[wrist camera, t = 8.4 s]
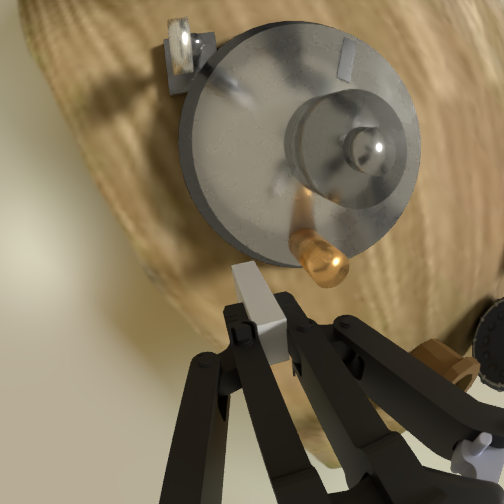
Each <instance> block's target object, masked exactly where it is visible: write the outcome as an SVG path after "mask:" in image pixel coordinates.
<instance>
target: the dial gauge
mask: <svg viewBox="0 0 504 504" xmlns="http://www.w3.org/2000/svg"><path fill="white" fill-rule="evenodd" d="M167 22H168V35H169V39H164V50H165V59H166V67H167V75H168V83H169V91H170V96H171V97H172V96H177V95H182V94H187V93H188V91H189V88H190V86H191V85H192V83H193V81H194V79H195V77H196V75H197V74H198V72H199V71H200V69H201V68H202V67H203V66H204V64H205V63H206V62H207V60H208V59H209V58H210V57H211V56H212V55H213V54H214V53H215V52H216V51H217V48H216V41H215V34H214V32H208V33H200V34H197V33H191V34H190V27H189V21H188V16H187V17H180V18H174V19H169V20H167Z"/></svg>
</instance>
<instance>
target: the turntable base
mask: <svg viewBox="0 0 504 504" xmlns="http://www.w3.org/2000/svg"><path fill="white" fill-rule="evenodd" d="M289 24H315V25H322V24H318V23H312V22H304V21H282V22H275V23H269V24H265V25H262V26H259V27H256V28H252V29H250V30H248V31H246V32H244V33H242V34H240V35H238V36H236V37H234V38H233V39H231V40H230V41H229V42H227V43H226V44H224V45H223V46H222V47H220V48H219V49H218V50H217V51H216V52H215V53H214V54H213V55H212V56H211V57H210V58H209V59H208V60H207V62H206V63H205V64H204V66H203V67H202V68H201V69H200V71H199V72H198V74H197V75H196V77H195V79H194V81H193V83H192V85H191V86H190V88H189V91H188V93H187V96H186V99H185V102H184V105H183V108H182V113H181V118H180V123H179V139H178V147H179V156H180V164H181V168H182V172H183V176H184V180H185V183H186V186H187V188H188V191H189V193H190V195H191V198H192V200H193V202H194V203H195V205H196V207H197V208H198V210H199V212H200V214H201V215H202V216H203V218H204V219H205V220H206V221H207V223H208V224H209V225H210V226H211V228H212V229H213V230H214V231H215V232H216V233H217V234H218V235H219V236H220V237H221V238H223V239H224V240H225V241H226V242H227V243H229V244H230V245H231V246H233V247H234V248H236V249H237V250H238V251H240V252H242V253H244V254H246V255H248V256H250V257H252V258H254V259H257V260H259V261H262V262H265V263H268V264H272V265H277V266H281V267H291V268H303V267H302V266H295V265H290V264H284V263H281V262H278V261H274V260H271V259H268V258H266V257H264V256H262V255H260V254H258V253H256V252H254V251H253V250H251V249H250V248H248V247H247V246H245V245H244V244H242V243H241V242H240V241H239V240H237V239H236V238H235V237H234V236H233V235H232V234H231V233H230V232H229V231H228V230H227V229H226V228H225V227H224V226H223V224H222V223H221V222H220V221H219V220H218V218H217V217H216V215H215V214H214V212H213V211H212V209H211V207H210V206H209V204H208V202H207V200H206V198H205V196H204V194H203V191H202V189H201V187H200V184H199V180H198V177H197V174H196V170H195V165H194V159H193V152H192V129H193V122H194V116H195V111H196V108H197V104H198V101H199V98H200V95H201V93H202V90H203V88H204V86H205V84H206V82H207V80H208V78H209V77H210V75H211V74H212V72H213V71H214V69H215V68H216V67H217V65H218V64H219V63H220V62H221V61H222V59H223V58H224V57H225V56H226V55H227V54H228V53H229V52H230V51H231V50H233V49H234V48H235V47H236V46H238V45H239V44H240V43H242V42H243V41H245V40H246V39H248V38H250V37H252V36H254V35H256V34H258V33H260V32H262V31H265V30H268V29H271V28H274V27H278V26H284V25H289ZM323 26H325V25H323ZM327 27H329V26H327ZM331 28H332V27H331Z"/></svg>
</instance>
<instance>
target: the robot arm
mask: <svg viewBox="0 0 504 504" xmlns="http://www.w3.org/2000/svg"><path fill="white" fill-rule="evenodd" d="M231 267H232V273H233V278H234V284H235V289H236V294H237V299H238V303H237V304H232V305H228V306H225V308H224V311H223V314H224V318H225V323H226V327H227V331H228V335H229V339H230V344H229V346H228V347H227V349H226V350H224V351H223V352H221V353H219V354H215V353H213V352H202V353H200V354H197V355H196V356H195V357H194V358H193V359H192V361H191V363H190V367H189V371H188V375H187V379H186V383H185V388H184V392H183V396H182V400H181V405H180V408H179V413H178V417H177V421H176V426H175V430H174V435H173V439H172V444H171V448H170V453H169V457H168V462H167V466H166V472H165V476H164V481H163V486H162V491H161V496H160V501H159V504H221V501H222V488H223V477H224V465H225V453H226V441H227V430H228V418H229V408H230V394H231V393H233V392H235V391H237V390H239V389H241V388H242V389H243V393H244V396H245V400H246V403H247V407H248V410H249V414H250V417H251V421H252V424H253V427H254V431H255V434H256V437H257V441H258V444H259V447H260V450H261V453H262V457H263V460H264V463H265V466H266V470H267V472H268V476H269V479H270V482H271V485H272V488H273V491H274V494H275V497H276V500H277V503H278V504H504V490H503V488H502V487H501V486H500V485H498V481H499V478H500V475H501V471H502V468H503V464H504V408H500V407H496V406H493V405H488V404H485V403H482V402H479V401H477V400H476V399H474V398H473V397H472V396H470V395H469V394H467V393H466V392H464V391H463V390H461V389H460V388H459V387H457V386H456V385H454V384H453V383H451V382H450V381H448V380H447V379H446V378H444V377H443V376H441V375H440V374H438V373H437V372H435V371H434V370H433V369H431V368H430V367H428V366H427V365H425V364H424V363H422V362H421V361H419V360H418V359H417V358H415V357H414V356H412V355H411V354H409V353H408V352H406V351H405V350H403V349H402V348H401V347H399V346H398V345H396V344H395V343H393V342H392V341H390V340H389V339H387V338H386V337H384V336H383V335H382V334H380V333H379V332H377V331H376V330H374V329H373V328H371V327H370V326H368V325H367V324H365V323H364V322H363V321H361V320H360V319H358V318H357V317H355V316H352V315H342V316H339V317H337V318H336V319H335V320H334V322H333V324H329V325H319V324H317V323H316V322H315V321H314V320H312V319H309V318H307V316H306V315H305V313H304V312H303V310H302V309H301V307H300V306H299V305H298V303H297V301H296V300H295V298H294V297H293V295H291V294H290V293H288V292H286V291H285V292H280V293H276V294H272V292H271V290H270V288H269V287H268V285H267V283H266V281H265V280H264V278H263V276H262V274H261V272H260V271H259V269H258V267H257V265H256V263H255V262H254V261H249V262H244V263H240V264H235V265H231ZM289 354H290V356H291V358H292V368H293V377H294V376H295V372H296V374H297V377H298V379H299V381H300V383H301V385H302V387H303V389H304V391H305V393H306V395H307V397H308V399H309V401H310V403H311V405H312V407H313V410H314V412H315V414H316V416H317V418H318V420H319V422H320V424H321V426H322V428H323V430H324V432H325V434H326V436H327V438H328V440H329V442H330V444H331V446H332V448H333V450H334V452H335V454H336V456H337V458H338V460H339V462H340V464H341V466H342V468H343V470H344V473H345V477H346V482H347V485H348V488H349V490H347V491H342V492H336V493H330V494H327V492H326V489H325V487H324V485H323V483H322V480H321V478H320V476H319V474H318V472H317V470H316V469H315V467H313V466H312V465H311V463H310V461H309V459H308V456H307V454H306V452H305V449H304V447H303V445H302V442H301V440H300V438H299V435H298V433H297V431H296V428H295V426H294V423H293V421H292V419H291V416H290V414H289V412H288V409H287V407H286V404H285V402H284V399H283V397H282V395H281V392H280V390H279V387H278V385H277V382H276V380H275V377H274V375H273V372H272V370H271V367H270V365H273V364H276V363H280V362H283V361H287V360H289ZM365 394H366V395H367V396H368V397H369V398H370V399H371V400H372V401H374V402H375V403H376V404H377V405H378V406H379V407H380V408H382V409H383V410H384V411H385V412H386V413H387V414H389V415H390V416H391V417H392V418H393V419H394V420H396V421H397V422H398V423H399V424H400V425H401V426H403V427H404V428H405V429H406V430H407V431H409V432H410V433H411V434H412V435H413V436H415V437H416V438H417V439H418V440H419V441H420V442H422V443H423V444H424V445H425V446H426V447H428V448H429V449H430V450H432V451H433V452H435V453H436V454H437V455H439V456H441V457H443V458H445V459H447V460H450V461H451V471H452V472H453V473H459V474H461V475H462V476H460V475H456V474H452V473H447V472H443V471H440V470H436V469H432V468H428V467H425V466H422V465H421V463H420V462H419V460H418V459H417V457H416V456H415V454H414V453H413V451H412V450H411V448H410V447H409V445H408V444H407V443H406V441H405V439H404V438H403V437H402V436H401V434H400V433H398V432H396V431H390V430H389V429H388V428H387V426H386V425H385V423H384V422H383V420H382V419H381V417H380V416H379V414H378V413H377V411H376V410H375V408H374V407H373V405H372V404H371V402H370V401H369V399H368V398H367V396H366V395H365Z"/></svg>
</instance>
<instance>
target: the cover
mask: <svg viewBox="0 0 504 504" xmlns="http://www.w3.org/2000/svg"><path fill="white" fill-rule="evenodd" d="M284 151H285V156H286V160H287V163H288V166H289V168H290V170H291V172H292V173H293V175H294V177H295V178H296V179H297V180H298V182H299V183H301V184H302V185H303V186H304V187H305V188H307V189H308V190H310V191H312V192H313V193H315V194H318V195H320V196H322V197H324V198H326V199H328V200H330V201H332V202H334V203H336V204H338V205H340V206H342V207H345V208H349V209H358V210H359V209H366V208H370V207H373V206H375V205H378V204H379V203H381V202H383V201H384V200H385V199H386V198H388V197H389V196H390V195H391V194H392V192H393V191H394V190H395V189H396V187H397V185H398V184H399V182H400V180H401V178H402V176H403V173H404V170H405V166H406V160H407V141H406V136H405V132H404V128H403V126H402V123H401V121H400V119H399V117H398V115H397V114H396V112H395V111H394V110H393V108H392V107H391V106H390V105H389V104H388V103H387V102H386V101H385V100H384V99H382V98H381V97H379V96H378V95H376V94H374V93H372V92H369V91H366V90H361V89H348V90H342V91H338V92H333V93H329V94H325V95H321V96H317V97H314V98H312V99H309V100H308V101H306V102H304V103H303V104H302V105H301V106H299V107H298V109H297V110H296V111H295V112H294V113H293V115H292V116H291V118H290V120H289V122H288V125H287V128H286V132H285V137H284Z"/></svg>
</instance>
